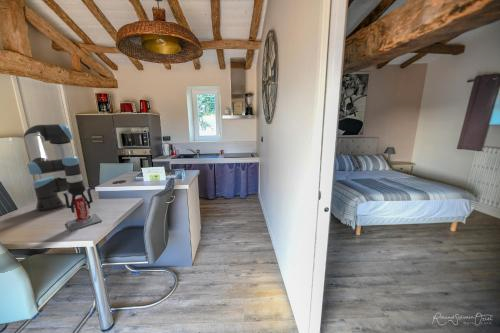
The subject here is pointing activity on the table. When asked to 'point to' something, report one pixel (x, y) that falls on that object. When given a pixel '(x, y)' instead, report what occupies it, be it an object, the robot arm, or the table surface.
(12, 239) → the table surface
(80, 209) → the beverage can
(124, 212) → the table surface
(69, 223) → the seat plate
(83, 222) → the collar
